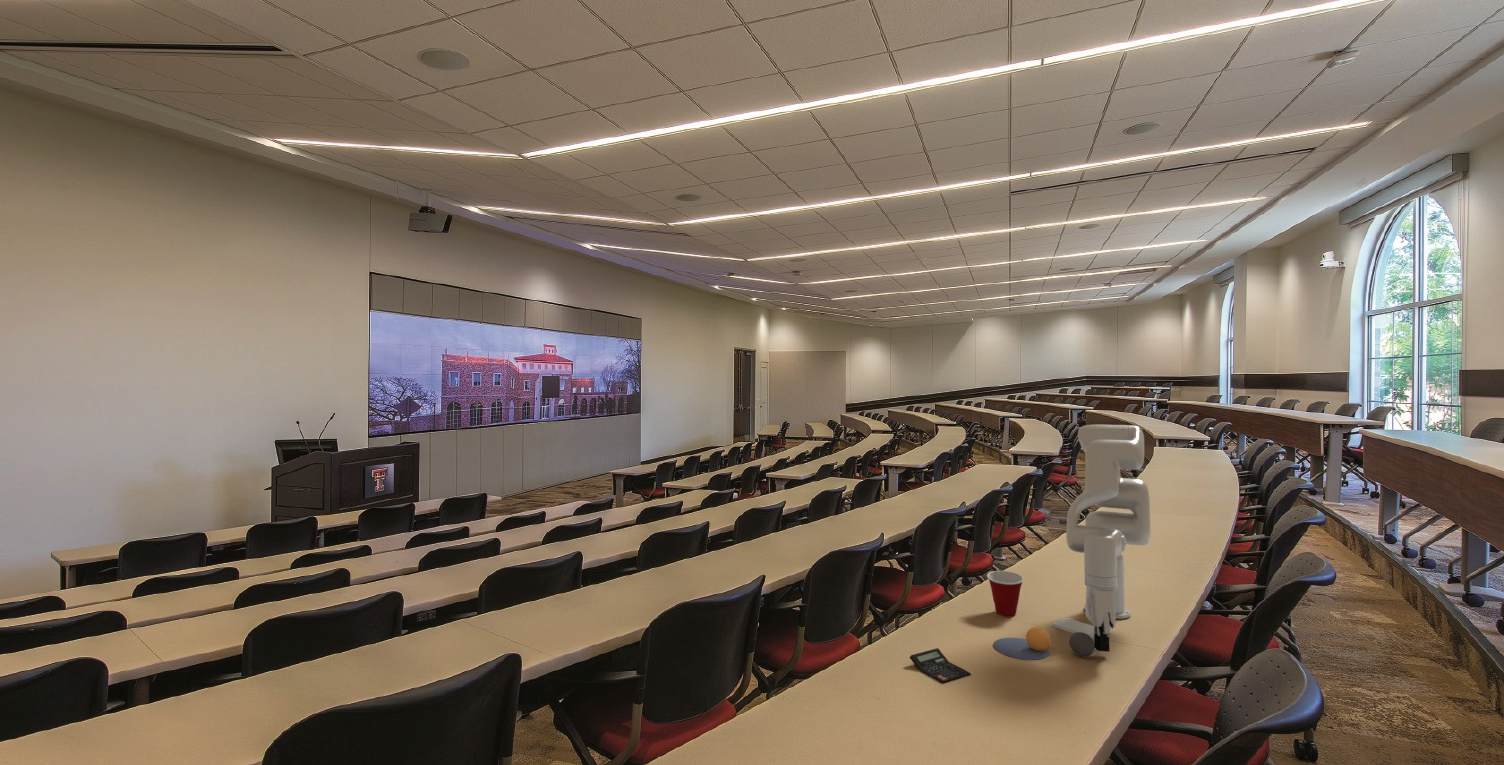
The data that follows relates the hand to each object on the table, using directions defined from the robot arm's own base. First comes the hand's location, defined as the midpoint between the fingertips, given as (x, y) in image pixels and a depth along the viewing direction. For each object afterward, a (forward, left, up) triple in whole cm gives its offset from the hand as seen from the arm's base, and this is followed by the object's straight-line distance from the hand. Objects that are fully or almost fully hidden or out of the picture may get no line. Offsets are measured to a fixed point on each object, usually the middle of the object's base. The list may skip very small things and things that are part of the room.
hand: (1101, 650), depth 164 cm
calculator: (+18, -42, -2) cm, 46 cm away
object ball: (0, -16, +2) cm, 16 cm away
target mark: (0, -20, -2) cm, 20 cm away
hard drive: (-18, -1, -2) cm, 18 cm away
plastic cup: (-27, -20, -2) cm, 34 cm away
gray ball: (+1, -5, +2) cm, 6 cm away
